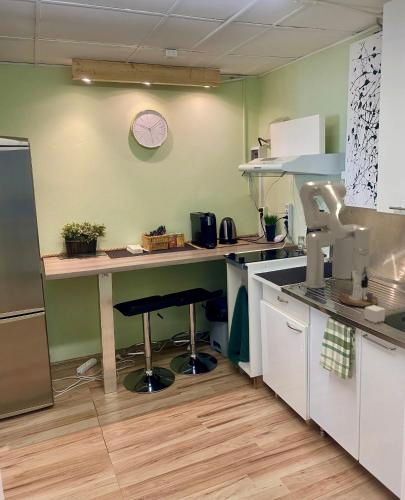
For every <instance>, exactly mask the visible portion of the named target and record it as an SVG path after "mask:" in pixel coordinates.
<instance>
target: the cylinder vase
mask: <svg viewBox="0 0 405 500" xmlns="http://www.w3.org/2000/svg"><path fill="white" fill-rule="evenodd" d="M353 242H354V239H349V240H339V239H337V238H336V240H335V243H334V245H332V246H333V249H332V268H331V269H332V271H331V272H332V274H331V275H332V276H331V277H333V278H334V279H337V280H344V281H345V280H351V275H352V274H351V270H350V264H351V258H352V254H353Z"/></svg>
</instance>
